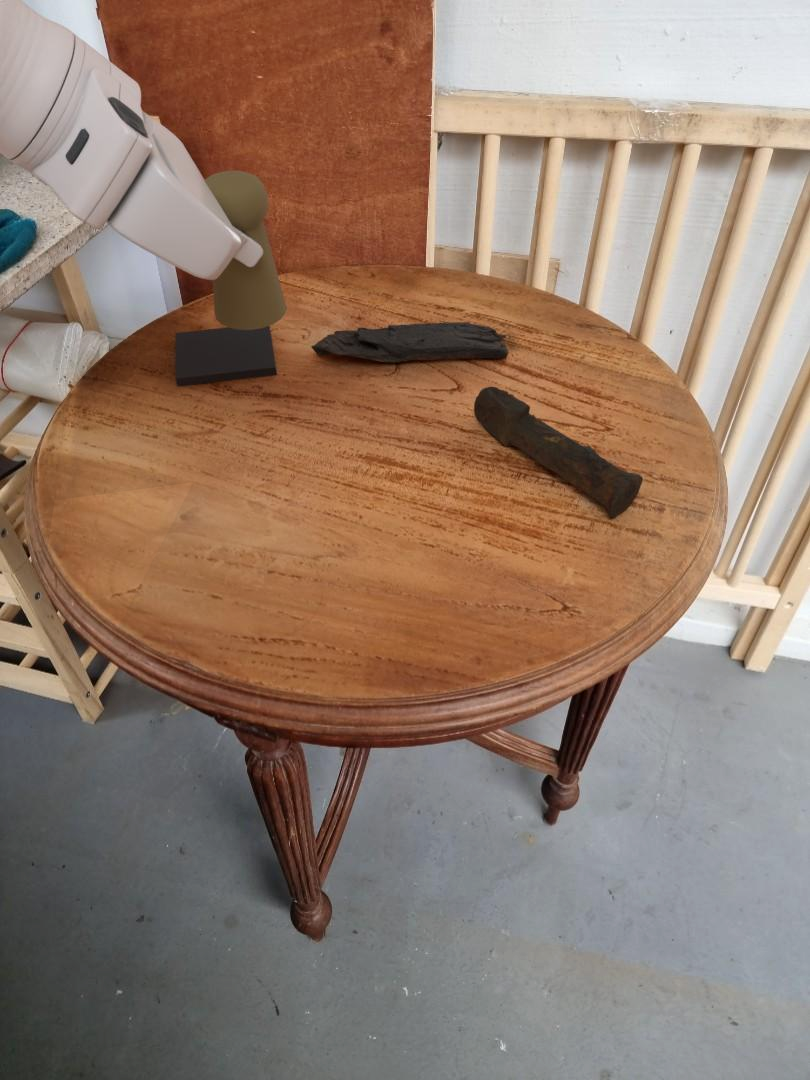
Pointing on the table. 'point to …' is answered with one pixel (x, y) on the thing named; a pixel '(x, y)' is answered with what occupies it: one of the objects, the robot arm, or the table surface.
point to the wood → (415, 342)
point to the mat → (223, 355)
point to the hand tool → (556, 450)
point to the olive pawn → (241, 289)
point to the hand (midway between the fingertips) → (247, 241)
